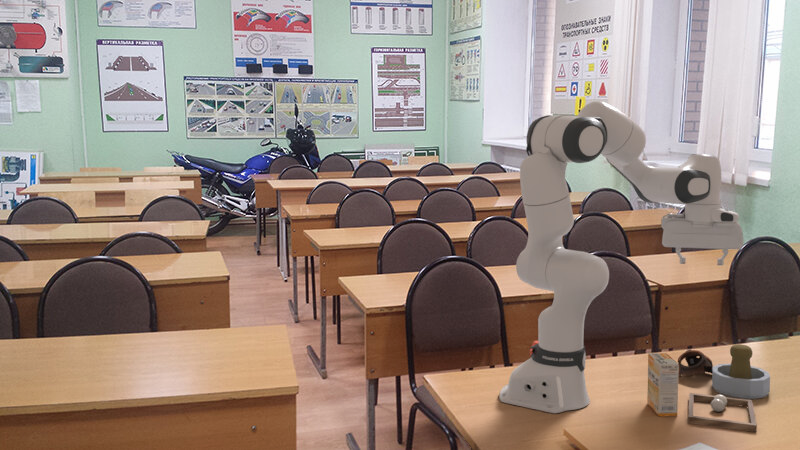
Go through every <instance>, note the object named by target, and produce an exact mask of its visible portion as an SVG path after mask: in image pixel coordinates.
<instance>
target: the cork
mask: <svg viewBox="0 0 800 450" xmlns="http://www.w3.org/2000/svg"><path fill="white" fill-rule="evenodd" d="M729 352H730V356H731V360H730V361H731V362H730V363H731V367H730V372H729V376H730V377H734V378H740V379H752V375H751V366H752V365H751V358H752V357H753V349H752V347H750V346H748V345H746V344H733V345H732V346H731V347H730V349H729Z"/></svg>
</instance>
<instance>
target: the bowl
mask: <svg viewBox="0 0 800 450" xmlns="http://www.w3.org/2000/svg"><path fill="white" fill-rule="evenodd" d="M750 366H751V375H752V379H740V378H734V377H730V376H729V372H730V367H731V362H730V363H720V364H717V365H714V366H713V368H712V375H711V377H712V378H711V383H712V384H711V386H712V389H713V391H715V392H717V393H719V394H720V395H724V396H726V397H729V398H738V399H747V400H758V399H763V398H766V397H767V396H769V393H770V391H771V389H770V388H771V387H770V386H771V375H770V373H769V371H767V370H765V369H763V368H760V367H757V366H754V365H750Z"/></svg>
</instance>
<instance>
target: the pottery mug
mask: <svg viewBox="0 0 800 450" xmlns="http://www.w3.org/2000/svg"><path fill="white" fill-rule="evenodd" d="M684 359H685V361H686V363H687V365H684V364H682V361H683V360H684ZM677 363H678V364H679V374H678V377H680V378H681V377H682V376H689V377H691V376H693V375H694V376H695V375H699V374H704V375H705V374H706V373H709V374H712V368H713V367H714V366H713V361H712V360H711V358H710V357H708V356H707V355H706V354H704V352H702V351H700V350H695V349H687V350H686V351H685V352H683V353H682V354H680V355H679V357H678V358H677Z"/></svg>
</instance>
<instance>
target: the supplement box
mask: <svg viewBox="0 0 800 450" xmlns="http://www.w3.org/2000/svg"><path fill="white" fill-rule="evenodd" d="M647 354H648V355H647V399H646V400H647V402H646V403H647V405H648V406H649V407H650V408H652V410H653V411H654V412H655V414H656V415H657V416H658V417H677V416H678V411H679V410H678V407H679V406H678V405H679V404H678V403H679V399H678V398H679V375H678V374H679V364H678V361H676V360H675V359H673V357H671V356H670V354H668V353H667V352H660V353H659V352H656V353H655V352H653V353H651V352H650V353H649V352H648V353H647Z"/></svg>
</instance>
